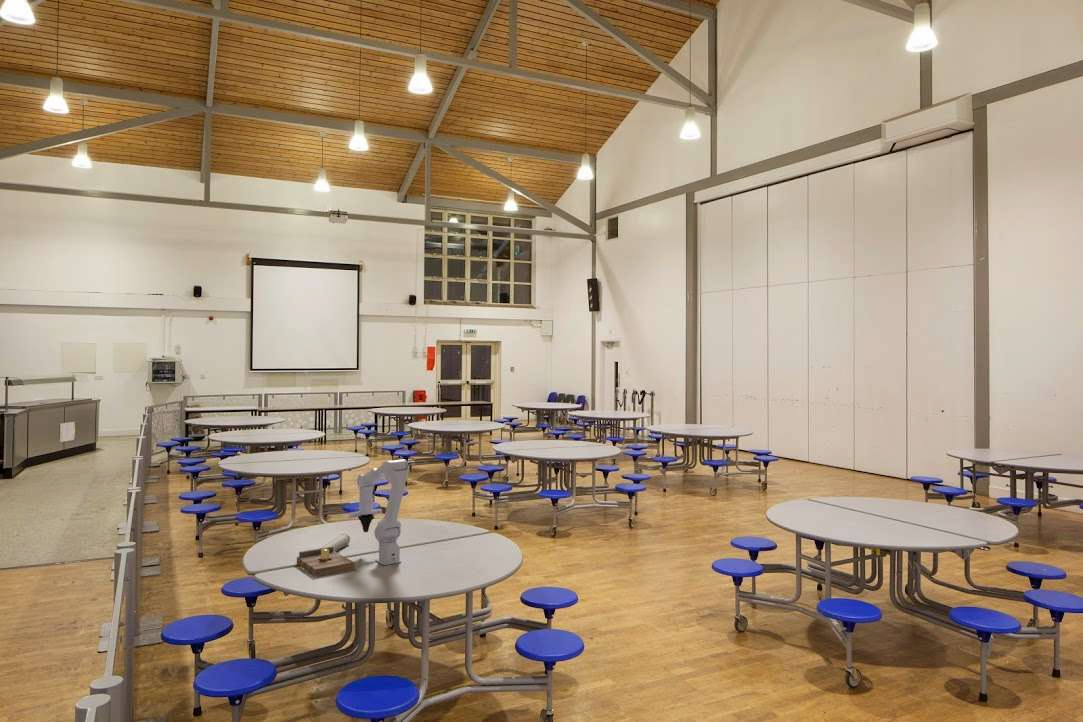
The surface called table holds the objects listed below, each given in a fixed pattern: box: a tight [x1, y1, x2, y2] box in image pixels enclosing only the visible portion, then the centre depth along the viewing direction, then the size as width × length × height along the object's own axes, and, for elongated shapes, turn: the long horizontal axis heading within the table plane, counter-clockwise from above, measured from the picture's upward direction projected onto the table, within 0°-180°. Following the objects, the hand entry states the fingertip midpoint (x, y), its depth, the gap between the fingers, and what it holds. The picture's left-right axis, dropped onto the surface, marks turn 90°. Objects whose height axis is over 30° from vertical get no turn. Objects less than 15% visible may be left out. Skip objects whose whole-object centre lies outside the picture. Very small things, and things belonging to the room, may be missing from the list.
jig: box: [296, 547, 355, 577], centre depth 276 cm, size 22×16×5 cm
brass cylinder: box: [321, 549, 329, 562], centre depth 276 cm, size 3×3×7 cm
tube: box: [320, 533, 351, 552], centre depth 299 cm, size 5×5×25 cm
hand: (365, 531), depth 297 cm, fingers closed
